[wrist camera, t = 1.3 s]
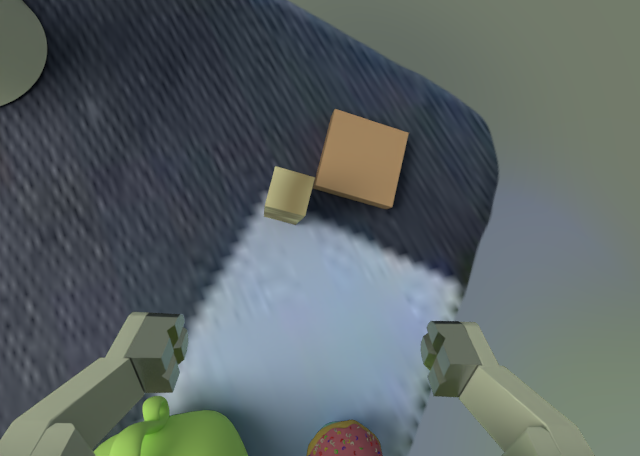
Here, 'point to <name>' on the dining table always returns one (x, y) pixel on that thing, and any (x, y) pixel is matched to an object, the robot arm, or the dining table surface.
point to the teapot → (175, 434)
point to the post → (288, 196)
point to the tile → (361, 160)
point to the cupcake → (344, 440)
